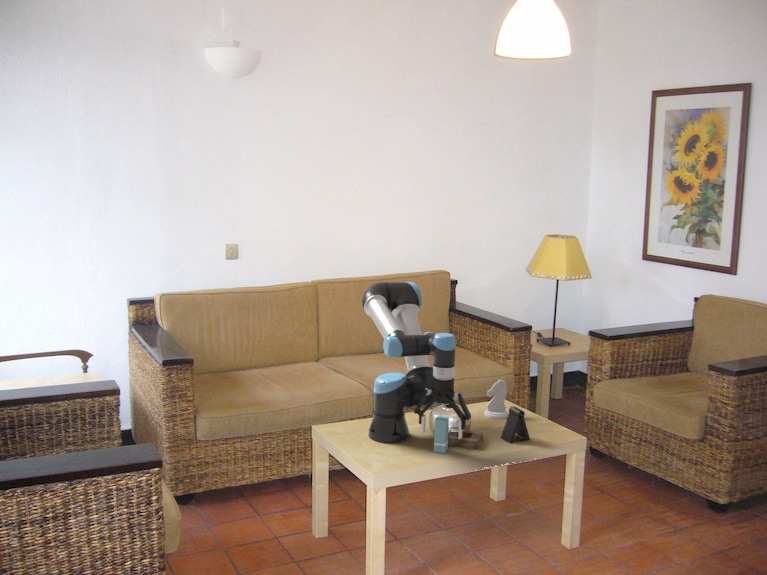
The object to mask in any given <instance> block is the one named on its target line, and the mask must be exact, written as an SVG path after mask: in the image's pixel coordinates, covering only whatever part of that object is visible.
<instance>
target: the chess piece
mask: <svg viewBox="0 0 767 575" xmlns="http://www.w3.org/2000/svg"><path fill="white" fill-rule="evenodd" d="M507 394H508V386H507V383H506V381H505V380H503V379H498V380H497V381H496V382H494V384H493V385H492V386H491V388H490V389H488V390H487V392H486V396H487V397H488V398H492V399H491V400H490V401H489V402H488V403H487V405H486V407H487V408H486V409H485V411H484V412H483V415H484V416H485V417H486V418H489V419H491V420H504V419H507V418H508V415H509V412H507V406H506V405H505V401H506V398H507ZM492 396H493V397H492Z"/></svg>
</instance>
